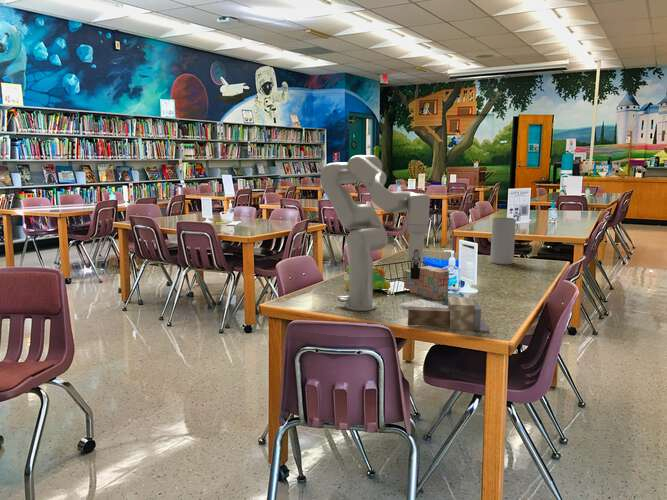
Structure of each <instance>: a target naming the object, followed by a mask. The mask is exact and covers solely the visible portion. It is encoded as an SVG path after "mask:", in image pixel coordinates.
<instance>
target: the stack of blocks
mask: <svg viewBox="0 0 667 500" xmlns="http://www.w3.org/2000/svg"><path fill="white" fill-rule="evenodd" d="M403 272H404V274H403V278H404V279H403V280H404V281H403V289H404V288H406V289H409V290H410V292H409V293H411V294H415V295H419V296H422V297H425V298H428V299H431V300H435V301H440V300H441V301H442V300H445V299H446V300H447V299H448V298H449V284H450V283H449V281H450V270H447V269H444V268H440V267H435V266H434V267H433V266H431V265H426V266H421V267H420V279H411V278H410V275H411V272H410V269H407V270H404V271H403Z"/></svg>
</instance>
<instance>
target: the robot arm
mask: <svg viewBox="0 0 667 500" xmlns="http://www.w3.org/2000/svg"><path fill="white" fill-rule="evenodd" d="M386 182H387V174H386V173H385V171H383V163H382V162H381V160H380V158H379V157H377V156H376V155H373V154H366V155H365V154H357V155H353V156H352V157H350V158H349V159H348V161H347V162H346V161H345V162H344V161H343V162H338V161H337V162H330V163H327V164H326V165H325V166H323V168H322V169H321V172H320V184H321V188H322V190H323V192H324V194H325V195H326V197H327V199H328V200H329V202H330V203H331V205H332V208H333V210H334V212H335V214H336V216H337V218H338V220H339V222H340V224H341V225H342V227H343V228H345V229H348V230H351V231H349V233H348V234H347V237H346V246H347V252H348V266H349V275H348V281H349V290H348V295H345V296H342V295H341V296H340V295H337V301H338V302H340V303H344V308H346V309H348V310H349V311H356V312H366V311H367V312H368V311H372V310H375V309H376V308H377V304H376V303H375V302H373V299H374V298H373V297H374V295H373V294H374V293H373V292H374V290H373V266H374V262H373V258H372V256H371V252H375V251H376V252H377V251H380V250H383V249H384V248H386V247H387V245H388V241H389V238H388V234H387V230H386V228H385V226H384V225H383V223H382V221H381V219H380V217H379V215H378V213H377V211H376V209H375V208H373V206H371V205H370V204H365V203H361V204H359V203H358V204H357V203H356V202H355V200H354V198H353V197H352V194H351V193H350V192H349V190H347V188H346V187H344V186H343V185H344V184H356V183H357V184H358V183H361V184H362V185H363V186H364V187H365V188H366V189H368V193H369V196H370V198H371V201H372V202H373V203H374V204H375V206H377V207H378V208H379V209H381V210H382V211H384V212H386V213H388V214H398V213H407V218H406V233H407V234H409V235H408V247H407V261H408V262H410V269H409V270H410V272H411V275H410V278H411V279H420V265H421V264H420V263H421V262H422V261H423V253H424V243H425V235H427V234H429V222H430V221H429V219H430V204H431V203H430V202H431V198H430V195H429V194H427V193H416V192H413V191H409V190H405V191H404V190H403V191H401V190H399V191H390V190H389V189H388V188H386V187H385V184H386ZM342 184H343V185H342ZM352 229H353V230H352Z"/></svg>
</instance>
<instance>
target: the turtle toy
mask: <svg viewBox="0 0 667 500" xmlns="http://www.w3.org/2000/svg"><path fill="white" fill-rule="evenodd" d="M345 271H346V275H348V276H349V265H347V266H346V268H345ZM385 274H386V272H385V270H384V269H383V268H378V267H376V266H374V265H373V291H374V290H381V291H383V290H382V289H389V288H390V289H391V282H390V281H389V280H386V278H385ZM345 288H346V290H348V291H349V280H348V281H346V283H345ZM390 289H389V290H390Z"/></svg>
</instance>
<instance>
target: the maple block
mask: <svg viewBox="0 0 667 500" xmlns="http://www.w3.org/2000/svg"><path fill="white" fill-rule="evenodd" d="M447 299H448V303H447V306H448V308H450V327H449V330H450V329H452V330H453V331H455V330H456V331H473V330H474V310H475V305H474V303H473V301H472V299H473V298H472V297H466V296H465V297H463V296H462V297H461V296H460V297H459V296H458V297H457V296H448V298H447Z"/></svg>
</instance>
